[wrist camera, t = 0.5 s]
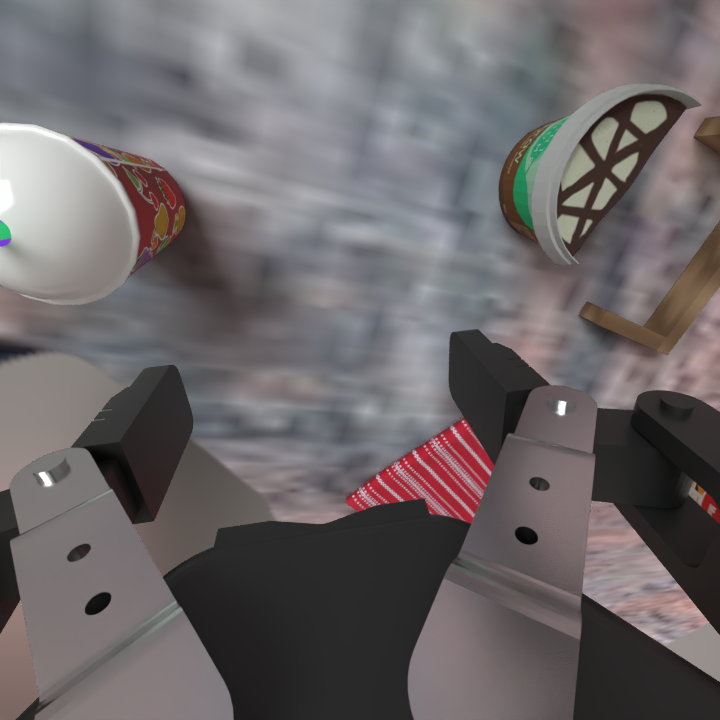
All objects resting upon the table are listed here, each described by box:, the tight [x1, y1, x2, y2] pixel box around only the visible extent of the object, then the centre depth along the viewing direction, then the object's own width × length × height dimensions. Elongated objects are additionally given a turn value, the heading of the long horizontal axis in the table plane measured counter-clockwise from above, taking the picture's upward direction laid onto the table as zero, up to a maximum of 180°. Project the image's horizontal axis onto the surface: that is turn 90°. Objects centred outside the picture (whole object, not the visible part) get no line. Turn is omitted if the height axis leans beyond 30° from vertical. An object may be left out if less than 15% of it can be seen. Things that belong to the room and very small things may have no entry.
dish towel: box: [346, 418, 494, 523], centre depth 48 cm, size 17×24×3 cm
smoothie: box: [0, 123, 186, 305], centre depth 23 cm, size 8×8×20 cm
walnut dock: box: [579, 116, 720, 355], centre depth 38 cm, size 19×10×3 cm, turn 157°
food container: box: [499, 84, 703, 265], centre depth 30 cm, size 12×6×10 cm, turn 149°
